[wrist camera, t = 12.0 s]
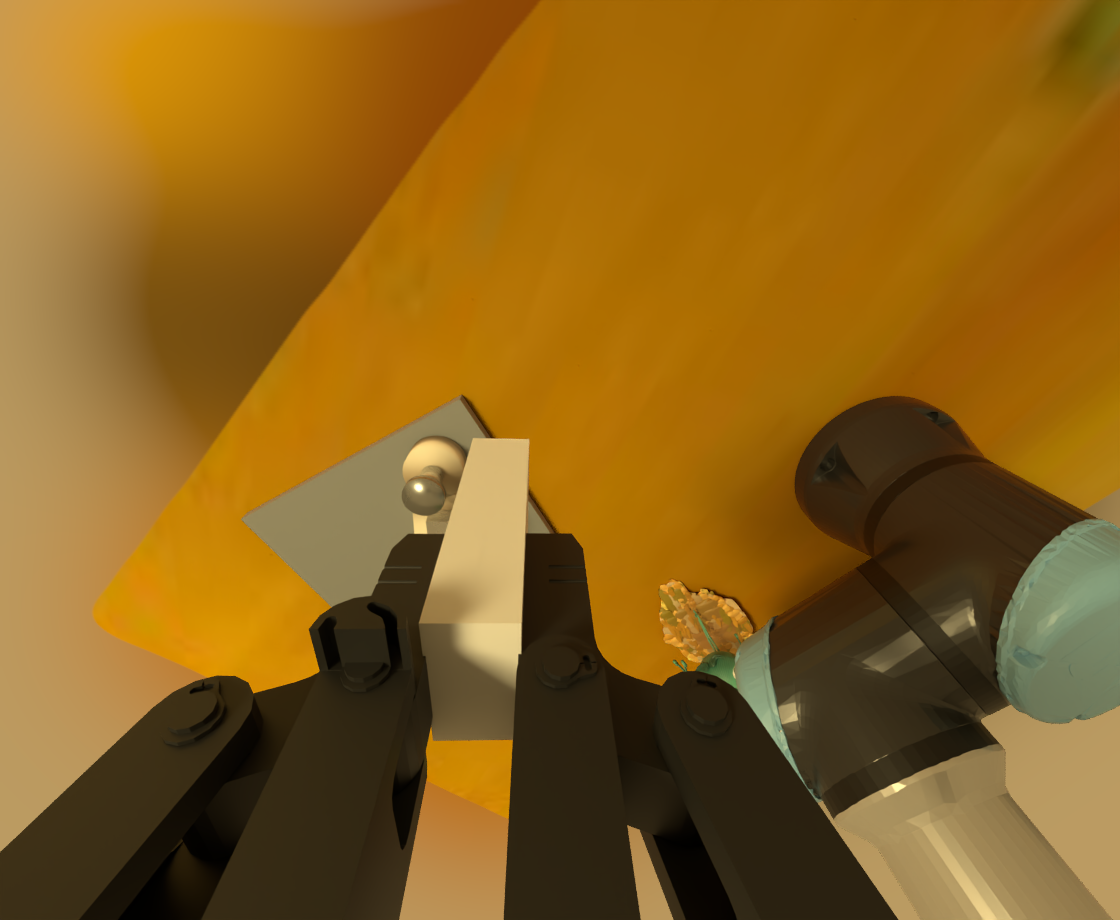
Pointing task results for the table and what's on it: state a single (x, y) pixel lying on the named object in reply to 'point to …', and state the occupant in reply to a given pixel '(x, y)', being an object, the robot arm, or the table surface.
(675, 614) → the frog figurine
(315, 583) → the base plate
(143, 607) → the table surface
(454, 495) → the link
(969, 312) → the table surface
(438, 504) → the beige block
